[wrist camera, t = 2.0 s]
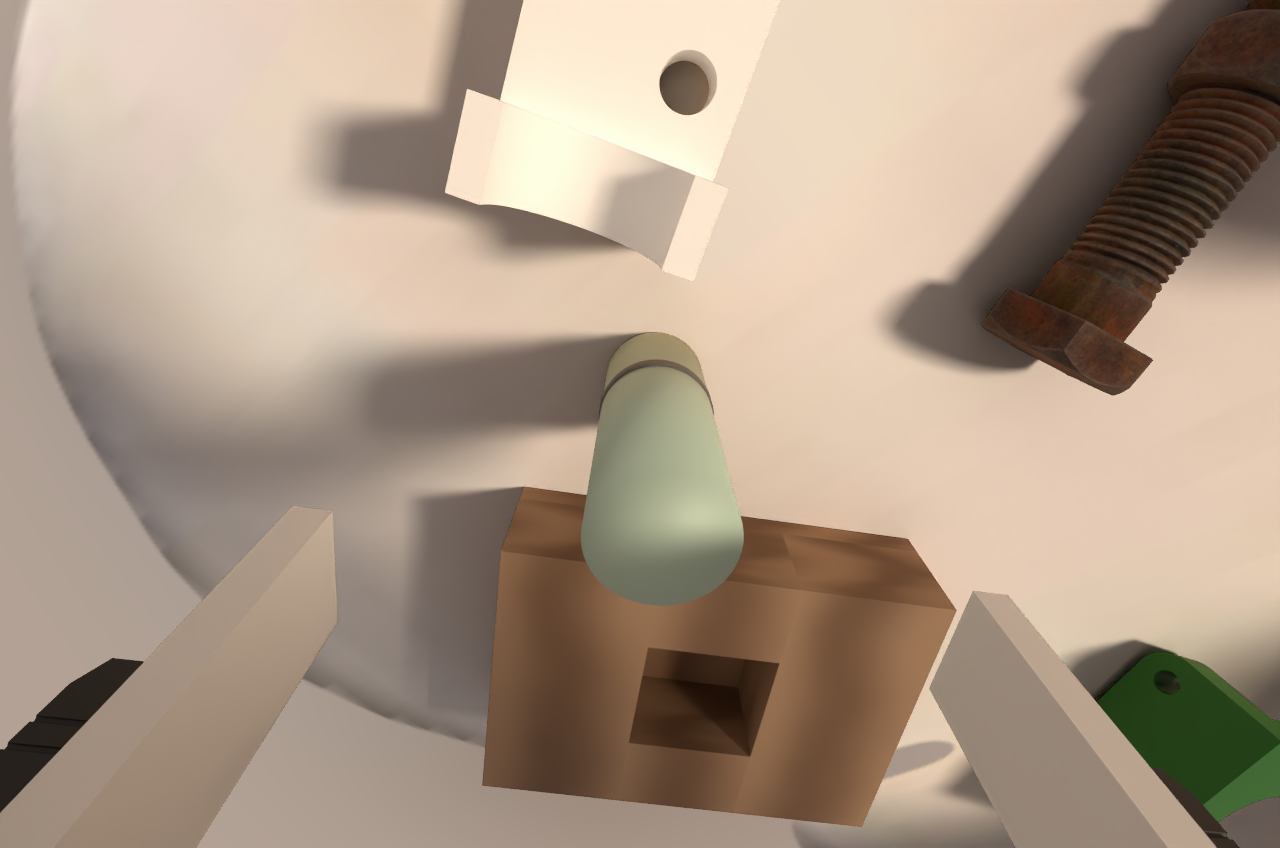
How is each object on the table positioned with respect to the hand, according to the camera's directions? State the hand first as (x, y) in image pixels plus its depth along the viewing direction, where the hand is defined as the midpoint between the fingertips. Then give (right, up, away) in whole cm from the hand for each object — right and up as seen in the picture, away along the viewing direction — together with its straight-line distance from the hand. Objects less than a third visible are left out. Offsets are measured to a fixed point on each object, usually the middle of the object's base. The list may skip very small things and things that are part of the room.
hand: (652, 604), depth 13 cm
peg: (0, +6, +13) cm, 15 cm away
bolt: (+18, +13, +11) cm, 25 cm away
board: (+2, -6, +19) cm, 20 cm away
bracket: (0, +18, +9) cm, 20 cm away
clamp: (+26, -13, +22) cm, 36 cm away
